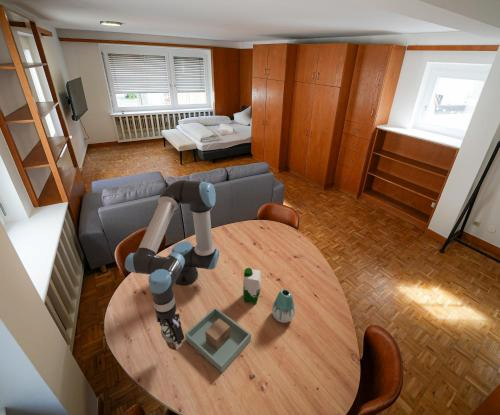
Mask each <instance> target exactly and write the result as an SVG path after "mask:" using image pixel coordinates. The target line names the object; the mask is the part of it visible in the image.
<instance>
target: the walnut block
mask: <svg viewBox="0 0 500 415" xmlns="http://www.w3.org/2000/svg"><path fill="white" fill-rule="evenodd" d="M205 335H206V342H207V343H208V344H209V345H210V346H211V347H212V348H214V349H215V350H216V351H218V350H219V349H220V347H221V346H222V345H223V344H224V343H225V342H226V341H227V340H228V339H229V338H230V326H229V325H227V324H226V323H225V322H224V321H222V320H221V319H220V318H219V319H218V320H217V321H216V322H215V323H213V324H212V325H211V326H210V327H209V328H208V329H207V330H206V331H205Z"/></svg>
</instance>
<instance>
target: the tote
mask: <svg viewBox="0 0 500 415" xmlns="http://www.w3.org/2000/svg"><path fill="white" fill-rule="evenodd" d="M219 318H220V319H221V320H222V321H224V322H225V323H226V324H227V325H229V326H230V338H229V339H228V340H227V341H226V342H225V343H224V344H223V345H222V346H221V347H220V349H219V350H218V351H216V350H215V349H214V348H212V347H211V346H210V345H209V344H208V343H207V342H206V335H205V331H206V330H207V329H208V328H209V327H210V326H211V325H212V324H213V323H215V322H216V321H217V320H218V319H219ZM184 339H185V341H186V342H187V343H188V344H189V345H190V346H191V347H192V348H194V350H196V351H197V352H198V353H199V354H200V355H201V356H202V357H203V358H205V360H206V361H207V362H208V363H210V365H212V366H213V368H215V369H216V370H217V371H218V372H219V373H220V374H223V373H224V372H225V371H226V370H227V368H228V367H229V366H230V365H231V364H232V362H234V361H235V359H236V358H237V357H238V356H239V355H240V354H241V353H242V351H244V350H245V348H246V346H248V344H249V343H250V342H251V341H252V333H250V332H249V331H248V330H247V329H245V328H244V327H242V326H241V325H240V324H238V323H237V322H236V321H235V320H234V319H232V318H230V317H229V316H228V315H226V314H225V313H224V312H222V311H221V310H220V309H218V308H217V307H214V308H212V309H211V310H210V311H209V312H208V313H207V314H206V315H205V316H204V317H202V318H201V319H200V320H199V321H197V323H196V324H194V325H193V326H192V327H191V328H190V329H188V330H187V331H186V332H185V333H184Z"/></svg>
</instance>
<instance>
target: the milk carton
mask: <svg viewBox="0 0 500 415" xmlns="http://www.w3.org/2000/svg"><path fill="white" fill-rule="evenodd" d="M261 272H262V271H261V270H259V269H253V268H250V267H247V268H245V269H244V272H243V277H242V278H243V281H242V282H243V284H242V287H243V288H242V289H243V295H242V296H243V302H244V303H250V304H255V305H256V304H257V303H258V300H259V297H260V292H261V282H262V281H261V280H262V276H261V274H262V273H261Z"/></svg>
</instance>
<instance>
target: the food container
mask: <svg viewBox="0 0 500 415" xmlns="http://www.w3.org/2000/svg"><path fill="white" fill-rule="evenodd" d="M175 318H176V321H177V322H178V321H180V322H181V314H180V313H179V312H178V313H175ZM160 334H161V337H162V338H163V340H164V341H165V342H166V344H167V347H168V348H169V349H171V350H173V351H177V349H176V347H175V342H174V335H173V333H172V331H171V329H170V328H169V327H168V325H167V323H166V322H164V323H163V324H162V327H161V326H160Z"/></svg>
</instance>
